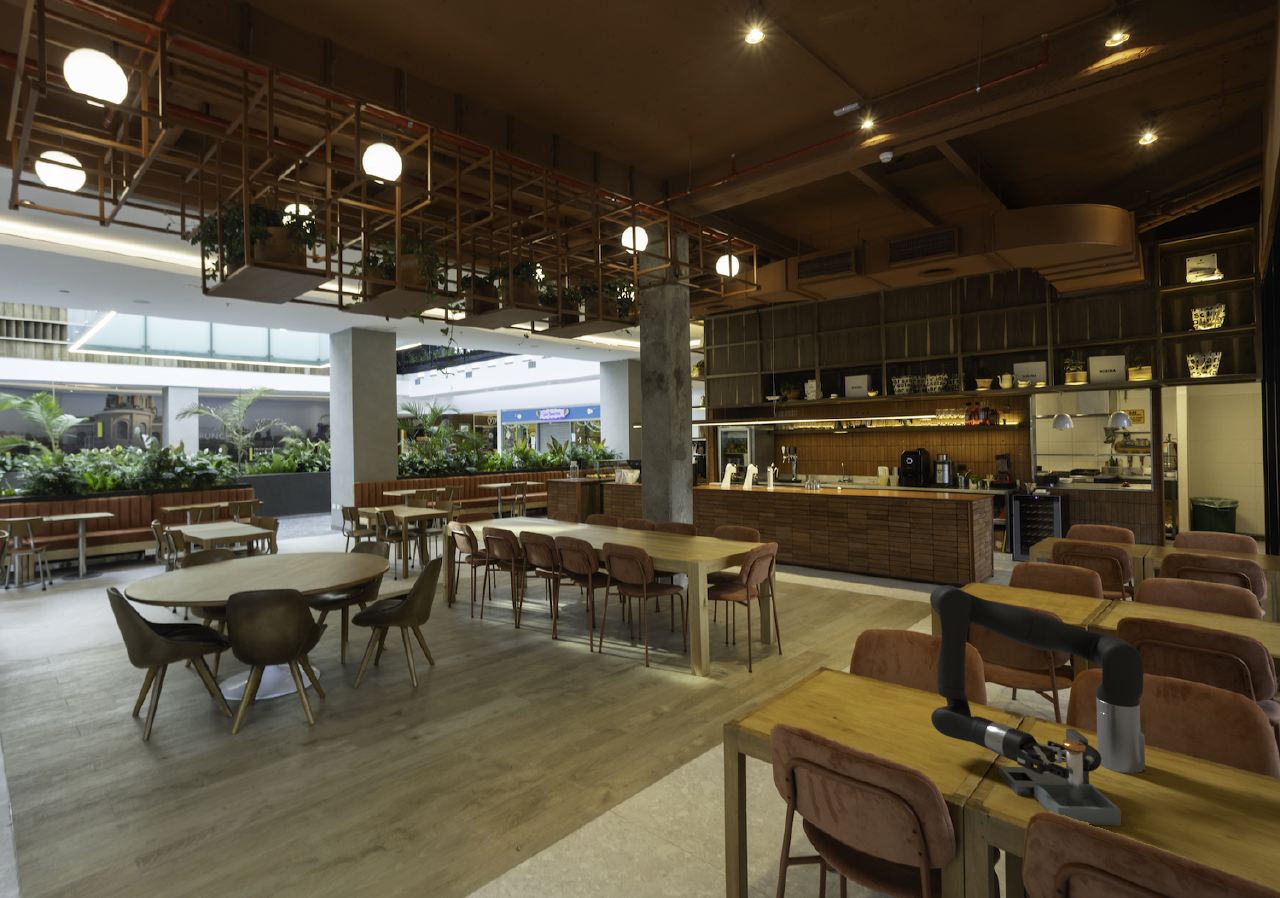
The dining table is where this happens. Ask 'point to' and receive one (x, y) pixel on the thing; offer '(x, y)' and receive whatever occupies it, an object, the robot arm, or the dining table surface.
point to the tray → (1093, 811)
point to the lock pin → (1074, 772)
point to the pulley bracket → (1032, 777)
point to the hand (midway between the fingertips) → (1078, 769)
